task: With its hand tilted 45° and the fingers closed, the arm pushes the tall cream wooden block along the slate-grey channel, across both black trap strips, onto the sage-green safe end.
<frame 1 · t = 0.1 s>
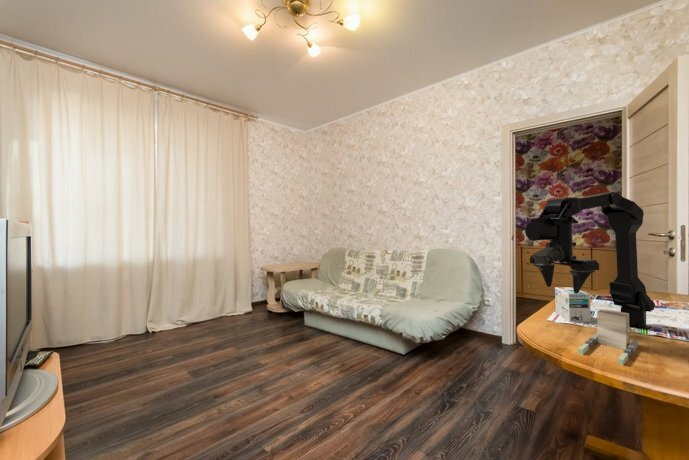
hand: (561, 289, 94), 15 cm above the table, tool pointing down, fingers open, 9 cm apart
light bulb box: (572, 320, 109), on the table
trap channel: (608, 352, 83), on the table
cream block: (613, 344, 86), point 1 cm above the table, slide at 0.0 cm
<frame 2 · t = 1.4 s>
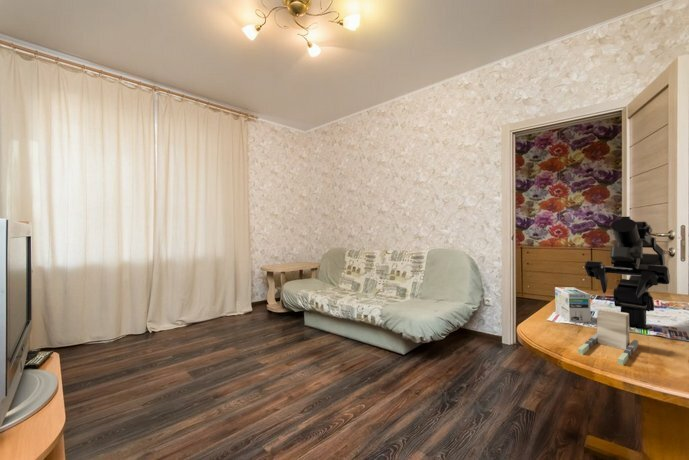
hand: (619, 294, 91), 13 cm above the table, tool tilted 45°, fingers open, 7 cm apart
nothing on the table moved.
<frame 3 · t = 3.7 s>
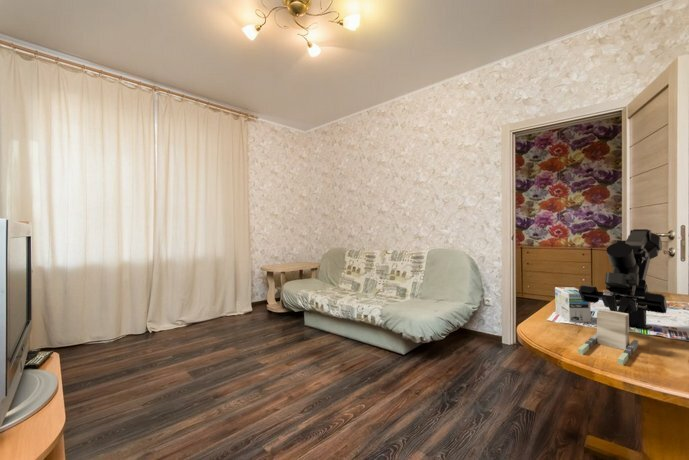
hand: (614, 322, 87), 7 cm above the table, tool tilted 45°, fingers closed, pressing on cream block
cream block: (613, 344, 86), point 1 cm above the table, slide at 0.4 cm, touching gripper
everything else where it was.
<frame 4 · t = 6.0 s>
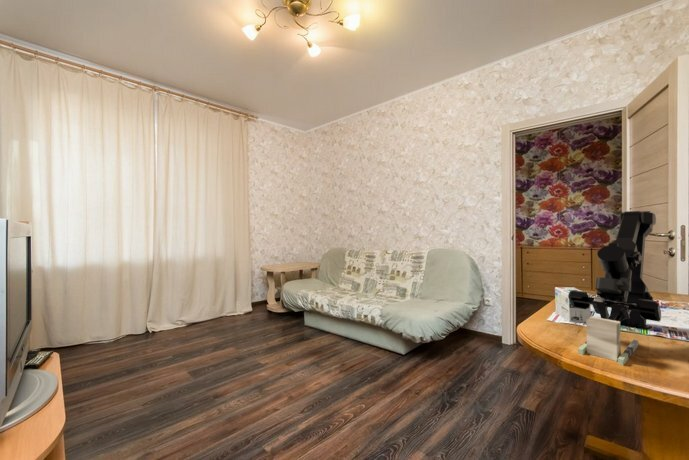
hand: (605, 331, 81), 7 cm above the table, tool tilted 45°, fingers closed, pressing on cream block
cream block: (603, 354, 80), point 1 cm above the table, slide at 9.6 cm, touching gripper
everything else where it was.
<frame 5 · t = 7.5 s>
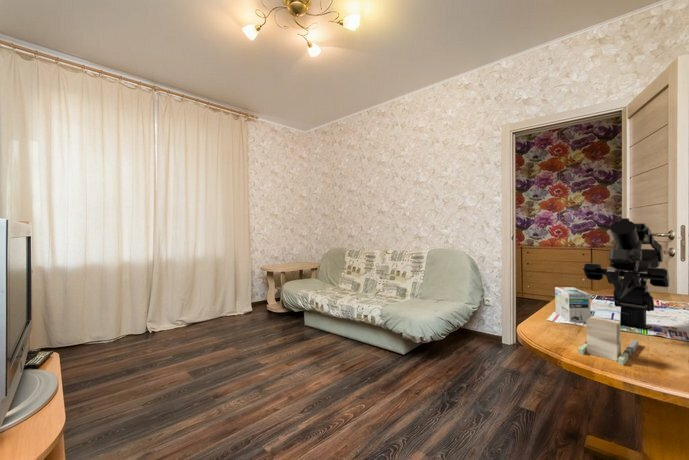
hand: (618, 297, 89), 13 cm above the table, tool tilted 45°, fingers closed
cream block: (603, 354, 80), point 1 cm above the table, slide at 9.6 cm
everything else where it was.
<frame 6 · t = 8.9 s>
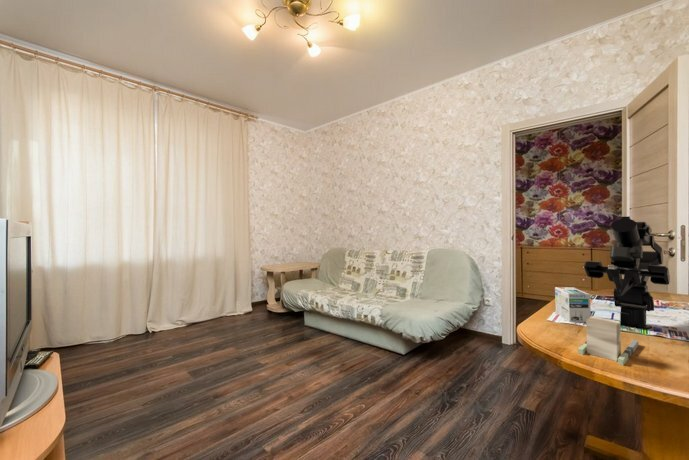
hand: (619, 294, 90), 14 cm above the table, tool tilted 45°, fingers closed
nothing on the table moved.
at the end: cream block slide at 9.6 cm; light bulb box moved 0.3 cm from its start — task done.
